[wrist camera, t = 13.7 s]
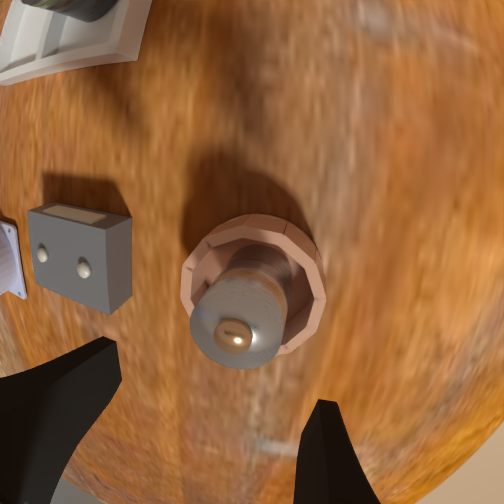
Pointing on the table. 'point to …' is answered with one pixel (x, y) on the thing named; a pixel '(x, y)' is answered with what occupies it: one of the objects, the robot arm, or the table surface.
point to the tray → (68, 40)
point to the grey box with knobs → (82, 254)
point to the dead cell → (244, 309)
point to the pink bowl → (276, 236)
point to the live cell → (75, 7)
